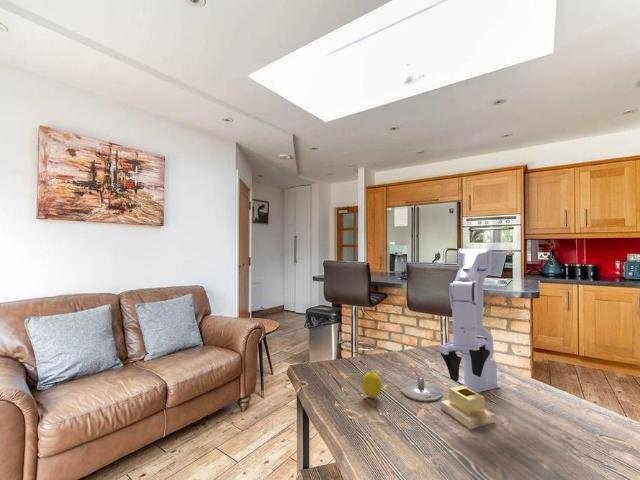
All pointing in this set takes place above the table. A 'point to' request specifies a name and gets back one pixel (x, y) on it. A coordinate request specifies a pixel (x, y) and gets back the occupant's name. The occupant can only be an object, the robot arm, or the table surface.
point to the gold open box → (467, 400)
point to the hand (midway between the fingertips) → (465, 377)
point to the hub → (421, 390)
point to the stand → (468, 420)
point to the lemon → (371, 384)
